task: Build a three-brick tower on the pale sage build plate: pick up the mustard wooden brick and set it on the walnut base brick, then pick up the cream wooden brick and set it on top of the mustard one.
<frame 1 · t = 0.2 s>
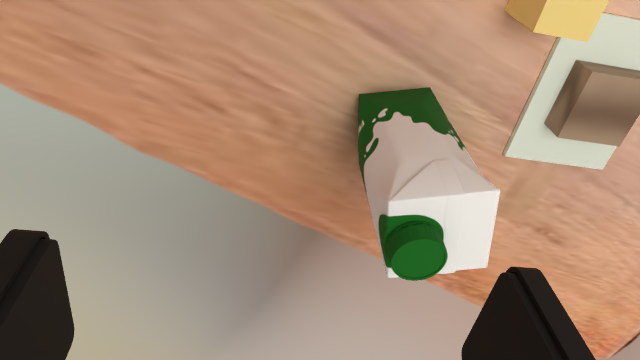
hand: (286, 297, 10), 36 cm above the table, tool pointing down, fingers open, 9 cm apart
walnut base brick: (590, 97, 49), point 1 cm above the table, touching build plate
build plate: (587, 95, 49), on the table
milk carton: (394, 120, 50), on the table
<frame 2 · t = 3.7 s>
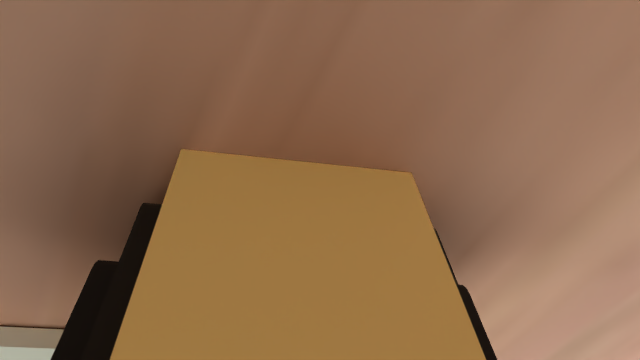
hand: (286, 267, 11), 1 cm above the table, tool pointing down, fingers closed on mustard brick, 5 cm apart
mustard brick: (286, 247, 12), on the table, touching gripper
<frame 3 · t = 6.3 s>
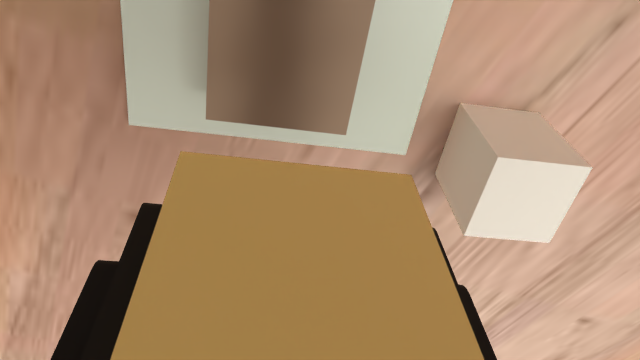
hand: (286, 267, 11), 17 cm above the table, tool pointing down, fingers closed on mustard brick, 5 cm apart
walnut base brick: (285, 38, 24), point 1 cm above the table, touching build plate
build plate: (285, 35, 25), on the table
mustard brick: (285, 249, 12), point 16 cm above the table, touching gripper
cream brick: (485, 143, 29), on the table
when the fingers open (5 cm above the table, at t = 8.7 s): mustard brick stays where it is, resting on walnut base brick.
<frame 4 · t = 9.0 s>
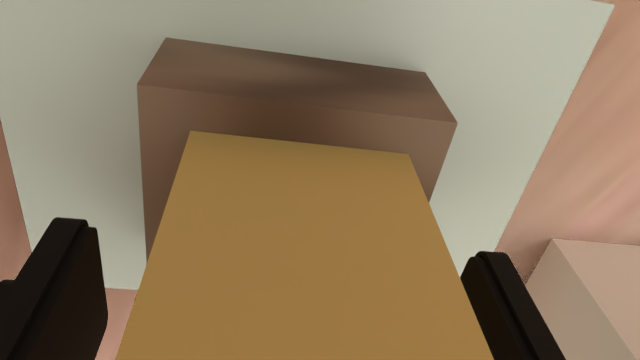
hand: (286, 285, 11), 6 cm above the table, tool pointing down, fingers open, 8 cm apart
walnut base brick: (285, 164, 15), point 1 cm above the table, touching build plate, mustard brick
build plate: (284, 154, 15), on the table
mustard brick: (289, 226, 12), point 4 cm above the table, touching walnut base brick
cream brick: (580, 287, 20), on the table
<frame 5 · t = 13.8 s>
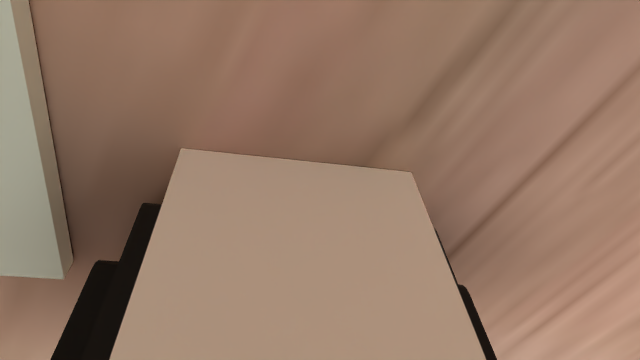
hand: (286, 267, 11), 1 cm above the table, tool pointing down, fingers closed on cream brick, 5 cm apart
cream brick: (286, 246, 12), on the table, touching gripper
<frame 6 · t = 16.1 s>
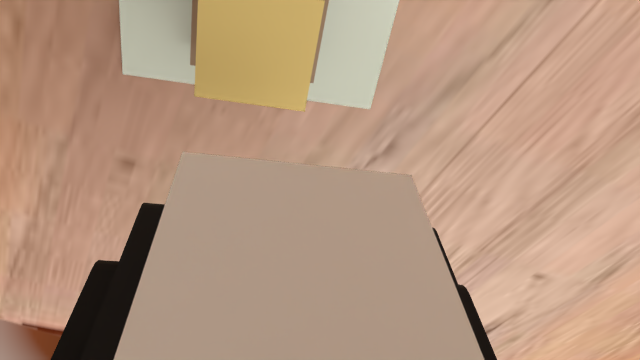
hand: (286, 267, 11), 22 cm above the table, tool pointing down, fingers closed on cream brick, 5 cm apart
mustard brick: (261, 11, 25), point 4 cm above the table, touching walnut base brick
cream brick: (286, 248, 12), point 21 cm above the table, touching gripper
when the fingers open (11 cm above the table, at t = 18.6 s): cream brick stays where it is, resting on mustard brick.
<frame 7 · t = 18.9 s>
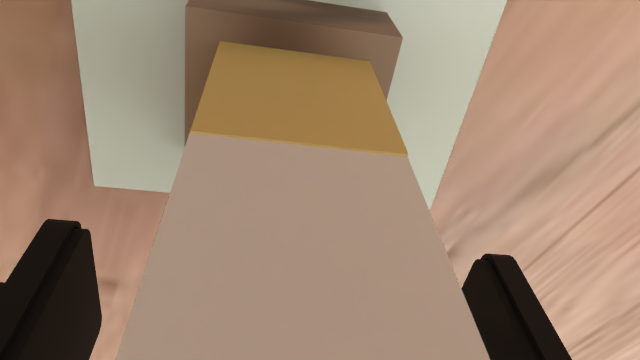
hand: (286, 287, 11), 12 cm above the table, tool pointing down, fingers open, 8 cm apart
walnut base brick: (284, 85, 20), point 1 cm above the table, touching build plate, mustard brick
build plate: (284, 80, 20), on the table
mustard brick: (287, 118, 17), point 4 cm above the table, touching cream brick, walnut base brick
cream brick: (288, 228, 12), point 10 cm above the table, touching mustard brick
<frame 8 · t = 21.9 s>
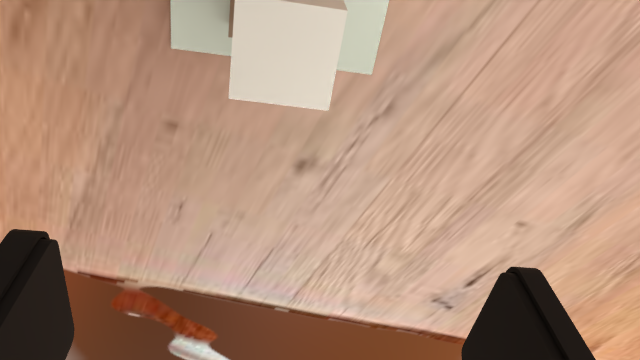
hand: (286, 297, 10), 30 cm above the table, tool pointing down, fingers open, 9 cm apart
cream brick: (284, 19, 27), point 10 cm above the table, touching mustard brick
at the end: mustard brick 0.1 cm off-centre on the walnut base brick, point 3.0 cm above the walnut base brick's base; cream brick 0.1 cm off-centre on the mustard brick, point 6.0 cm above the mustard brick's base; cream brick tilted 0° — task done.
